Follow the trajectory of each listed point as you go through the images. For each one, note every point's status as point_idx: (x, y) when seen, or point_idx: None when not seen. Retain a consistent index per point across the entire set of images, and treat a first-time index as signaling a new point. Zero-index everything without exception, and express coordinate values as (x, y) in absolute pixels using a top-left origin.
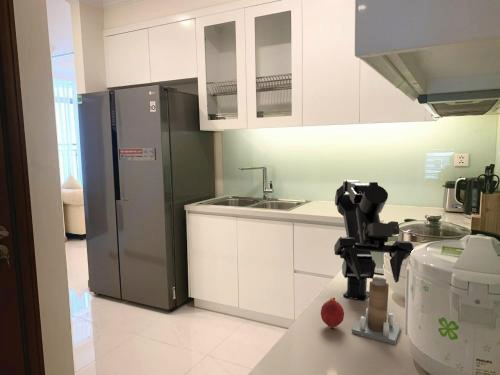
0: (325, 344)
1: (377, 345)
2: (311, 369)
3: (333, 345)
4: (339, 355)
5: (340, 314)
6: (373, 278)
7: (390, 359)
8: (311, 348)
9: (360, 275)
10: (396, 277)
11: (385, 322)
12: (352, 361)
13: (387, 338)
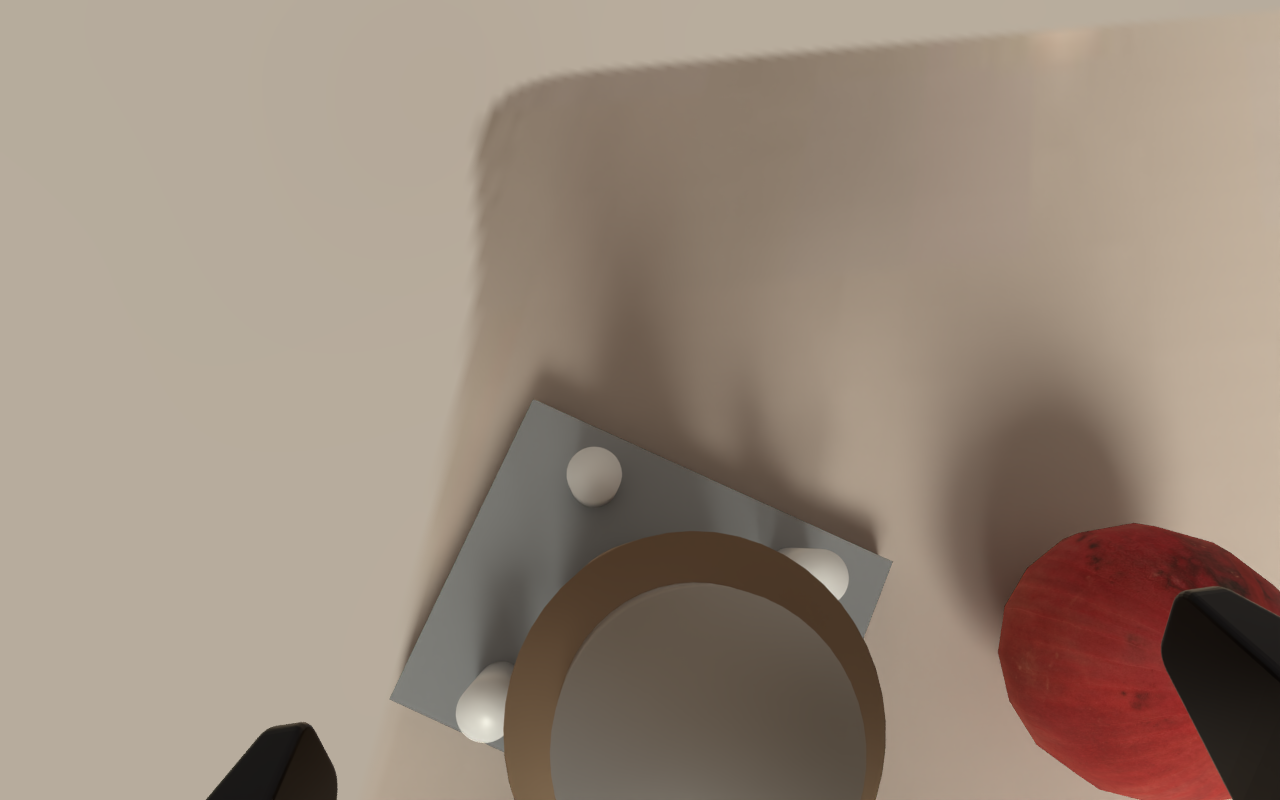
0: (1107, 344)
1: (687, 378)
2: (1193, 28)
3: (1044, 337)
4: (1003, 205)
5: (1083, 563)
6: (841, 778)
7: (629, 193)
8: (1212, 275)
9: (1234, 633)
10: (281, 786)
11: (598, 493)
12: (914, 141)
13: (593, 426)
